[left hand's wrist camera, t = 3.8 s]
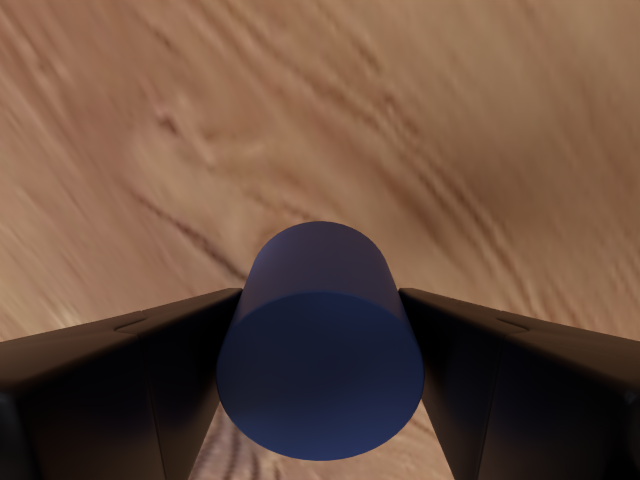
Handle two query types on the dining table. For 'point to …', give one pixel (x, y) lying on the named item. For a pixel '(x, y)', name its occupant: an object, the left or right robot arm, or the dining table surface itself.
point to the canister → (320, 347)
